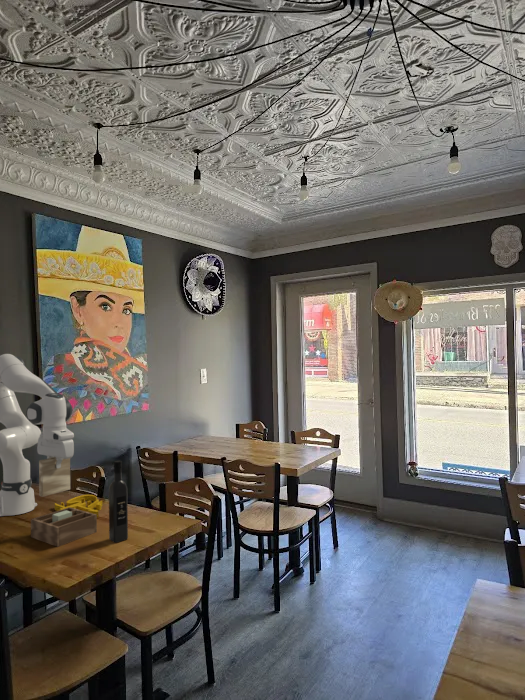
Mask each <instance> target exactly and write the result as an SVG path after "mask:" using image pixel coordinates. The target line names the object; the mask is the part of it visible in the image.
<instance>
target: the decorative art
mask: <svg viewBox="0 0 525 700" xmlns="http://www.w3.org/2000/svg"><path fill="white" fill-rule="evenodd" d="M103 506H104V505H103V500H100V499H98V497H97V496H96V495H95V494H94V495H93V494H82V495H78V496H76V497H72V498H70V499H68V500H66V506H65V503H64V502H63V501H62V502H60V504H58V503H55V502H54V510H55V512H56V511H59V510H62V509H66V508H69V507H71V508H74V509H78V510H82V511H86V512H89V513H93V514H97V519H98V518H100V517H99V511H101V510H102V507H103Z"/></svg>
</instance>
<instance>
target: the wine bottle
mask: <svg viewBox="0 0 525 700" xmlns="http://www.w3.org/2000/svg"><path fill="white" fill-rule="evenodd" d="M122 464H123V461H122V460H114V461H113V469H114V471H113V472H114V473H113V474H114V475H113V476H114V477H113V478H114V479H113V481H111V483H110V484H109V487H108V523H109V524H108V526H109V527H108V530H109V531H108V533H109V534H108V535H109V541H112V543H116V544H117V543H120V542H124V541H126V540H128V538H129V526H128V525H129V524H128V523H129V521H128V520H129V519H128V518H129V517H128V516H129V515H128V513H129V512H128V511H129V509H128V486H127V484H126V482H125V481H124V480H123V478H122V475H123V474H122V472H123V471H122V470H123V469H122V467H123V465H122Z"/></svg>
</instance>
